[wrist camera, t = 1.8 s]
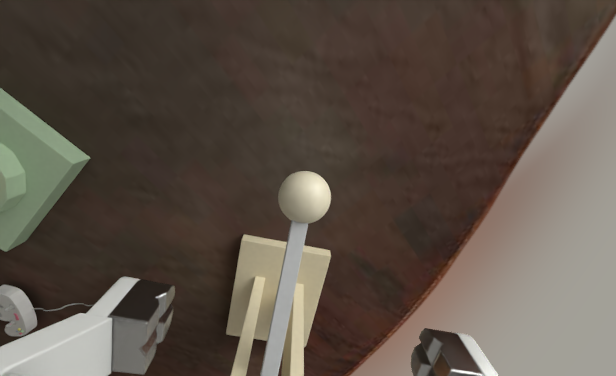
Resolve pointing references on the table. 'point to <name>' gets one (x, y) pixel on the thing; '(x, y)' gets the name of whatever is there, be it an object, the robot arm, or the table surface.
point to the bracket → (273, 300)
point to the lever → (293, 253)
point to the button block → (30, 170)
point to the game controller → (18, 311)
